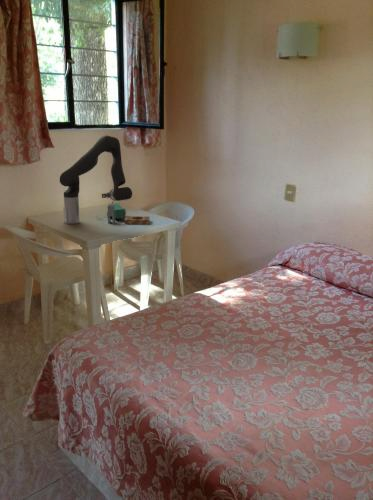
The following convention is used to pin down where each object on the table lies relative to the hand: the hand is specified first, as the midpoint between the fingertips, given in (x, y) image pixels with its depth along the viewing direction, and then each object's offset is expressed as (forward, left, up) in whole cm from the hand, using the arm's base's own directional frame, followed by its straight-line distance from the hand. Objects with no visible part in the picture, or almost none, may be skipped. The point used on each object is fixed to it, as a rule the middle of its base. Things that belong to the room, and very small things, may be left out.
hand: (111, 194), depth 274 cm
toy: (+11, +23, -20) cm, 32 cm away
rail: (+18, 0, -20) cm, 27 cm away
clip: (+2, +6, -20) cm, 21 cm away
